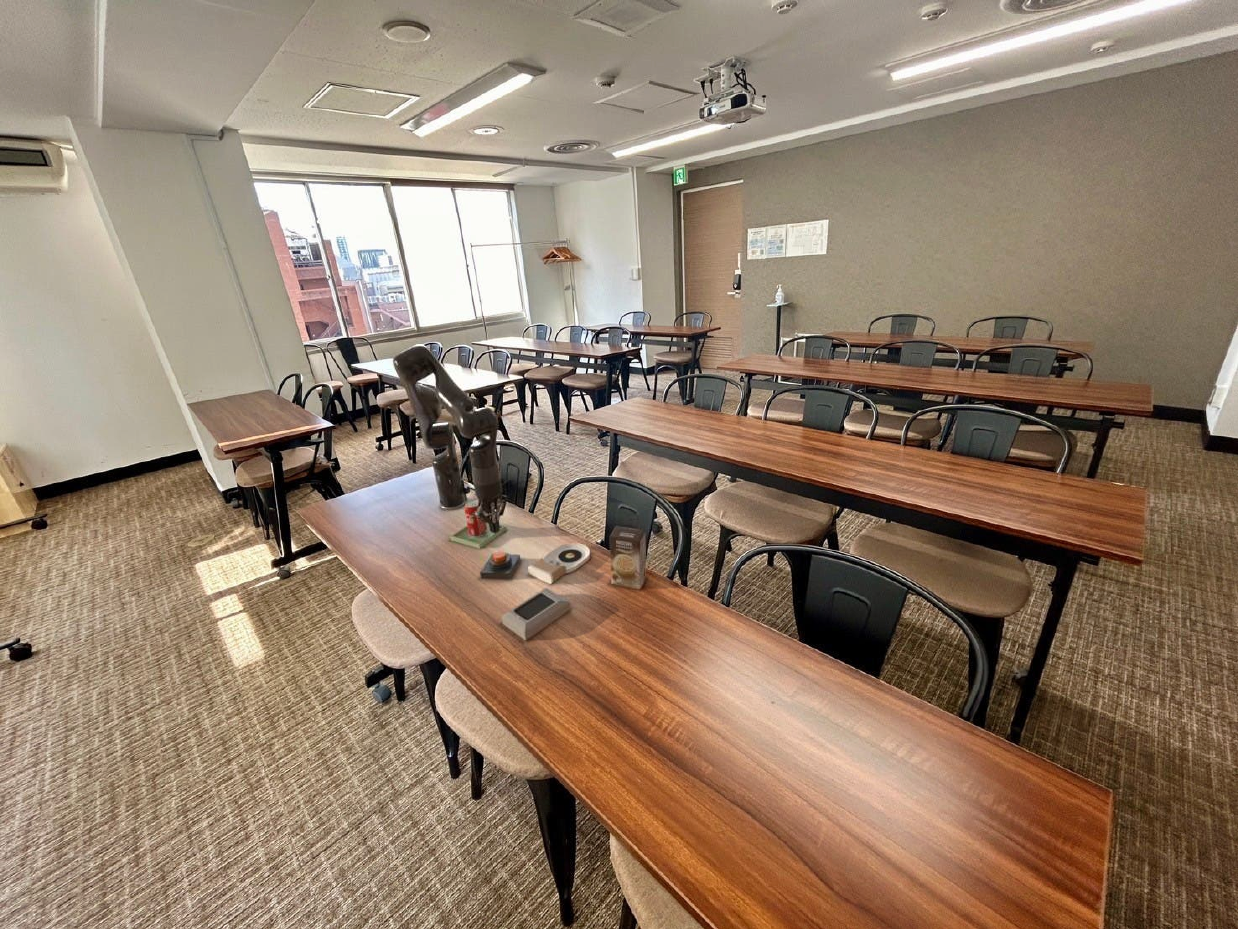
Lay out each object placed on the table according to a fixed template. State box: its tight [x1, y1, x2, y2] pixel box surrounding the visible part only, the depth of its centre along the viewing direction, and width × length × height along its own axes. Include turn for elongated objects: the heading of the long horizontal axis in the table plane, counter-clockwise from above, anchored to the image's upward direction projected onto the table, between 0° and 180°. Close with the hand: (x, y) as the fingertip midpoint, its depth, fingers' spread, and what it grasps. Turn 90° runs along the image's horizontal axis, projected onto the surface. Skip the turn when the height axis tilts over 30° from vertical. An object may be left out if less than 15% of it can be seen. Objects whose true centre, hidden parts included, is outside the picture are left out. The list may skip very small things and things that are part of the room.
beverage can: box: [464, 499, 488, 538], centre depth 164 cm, size 6×6×12 cm
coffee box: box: [609, 525, 647, 590], centre depth 136 cm, size 9×6×16 cm
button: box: [493, 551, 506, 562], centre depth 145 cm, size 4×4×2 cm
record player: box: [527, 542, 591, 585], centre depth 148 cm, size 12×3×20 cm
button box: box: [479, 552, 521, 581], centre depth 146 cm, size 10×9×4 cm
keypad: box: [501, 587, 571, 641], centre depth 125 cm, size 10×4×15 cm
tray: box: [449, 523, 507, 549], centre depth 166 cm, size 13×13×2 cm
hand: (495, 531), depth 142 cm, fingers closed
